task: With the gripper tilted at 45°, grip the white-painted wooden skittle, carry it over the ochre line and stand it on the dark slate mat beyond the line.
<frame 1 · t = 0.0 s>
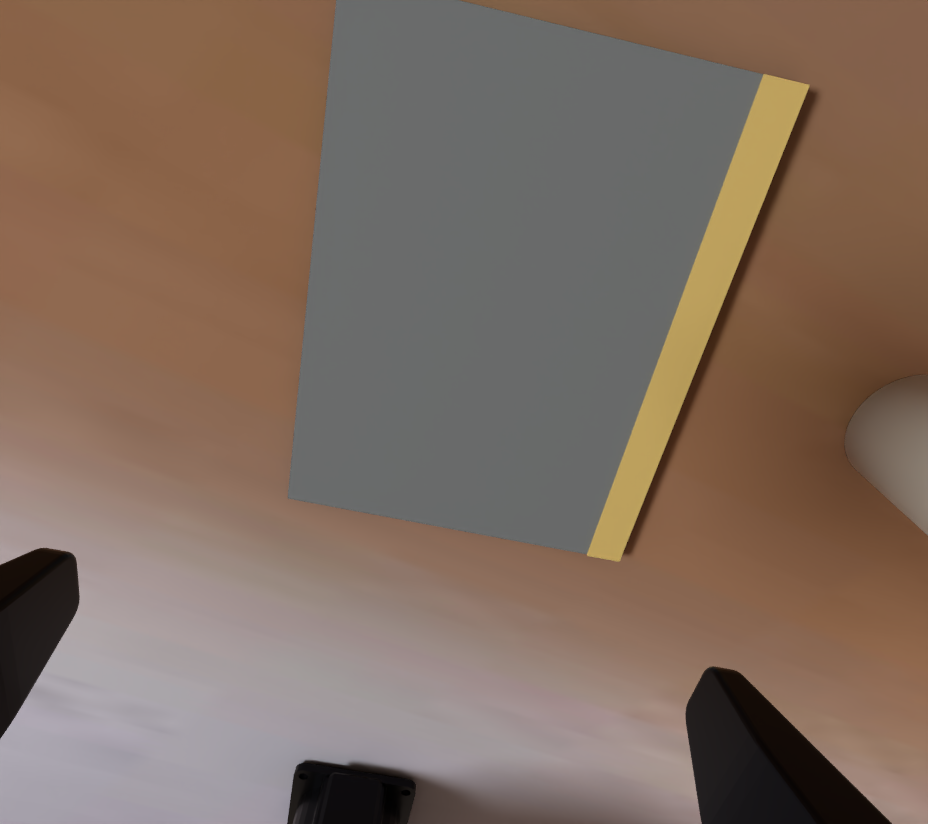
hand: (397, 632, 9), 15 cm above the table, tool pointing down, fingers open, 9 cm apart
skittle: (907, 430, 23), on the table
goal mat: (506, 320, 22), on the table
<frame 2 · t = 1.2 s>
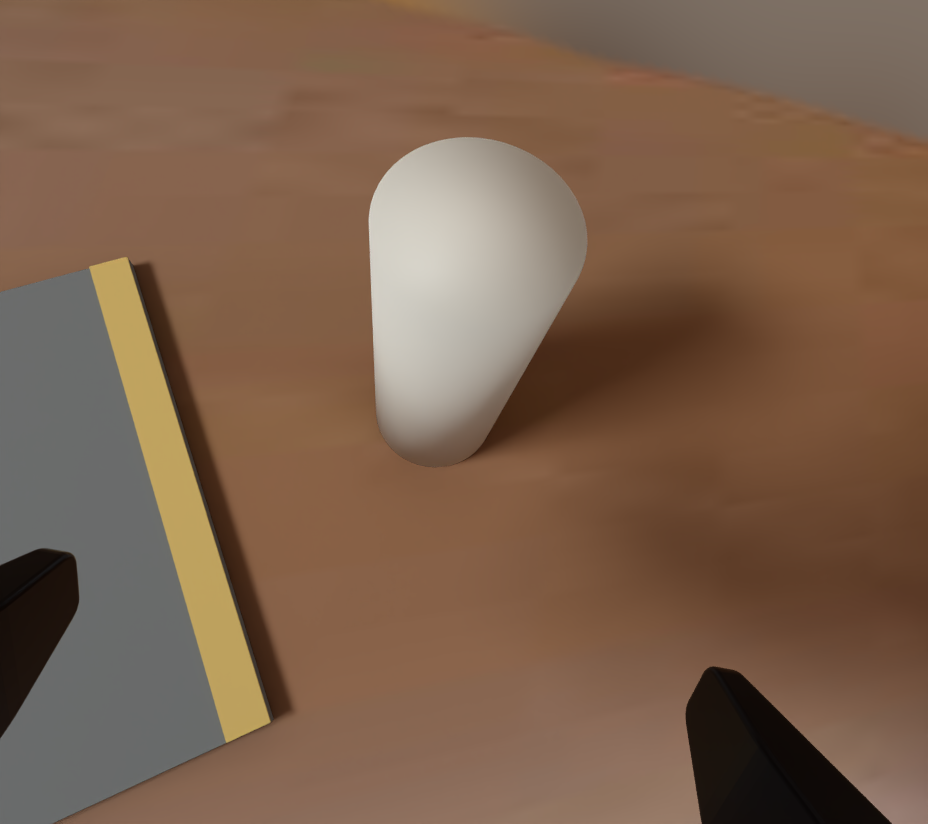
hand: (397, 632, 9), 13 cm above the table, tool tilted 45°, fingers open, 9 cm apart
skittle: (434, 410, 24), on the table
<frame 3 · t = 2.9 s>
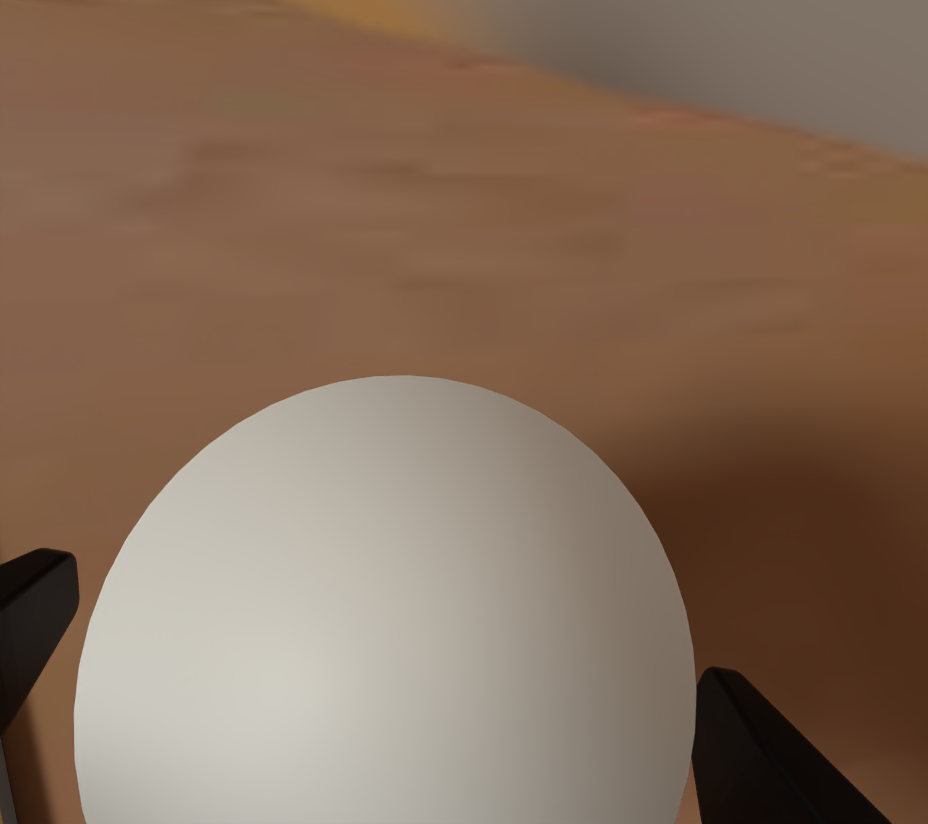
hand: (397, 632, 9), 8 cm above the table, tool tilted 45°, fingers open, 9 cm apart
skittle: (389, 634, 16), on the table
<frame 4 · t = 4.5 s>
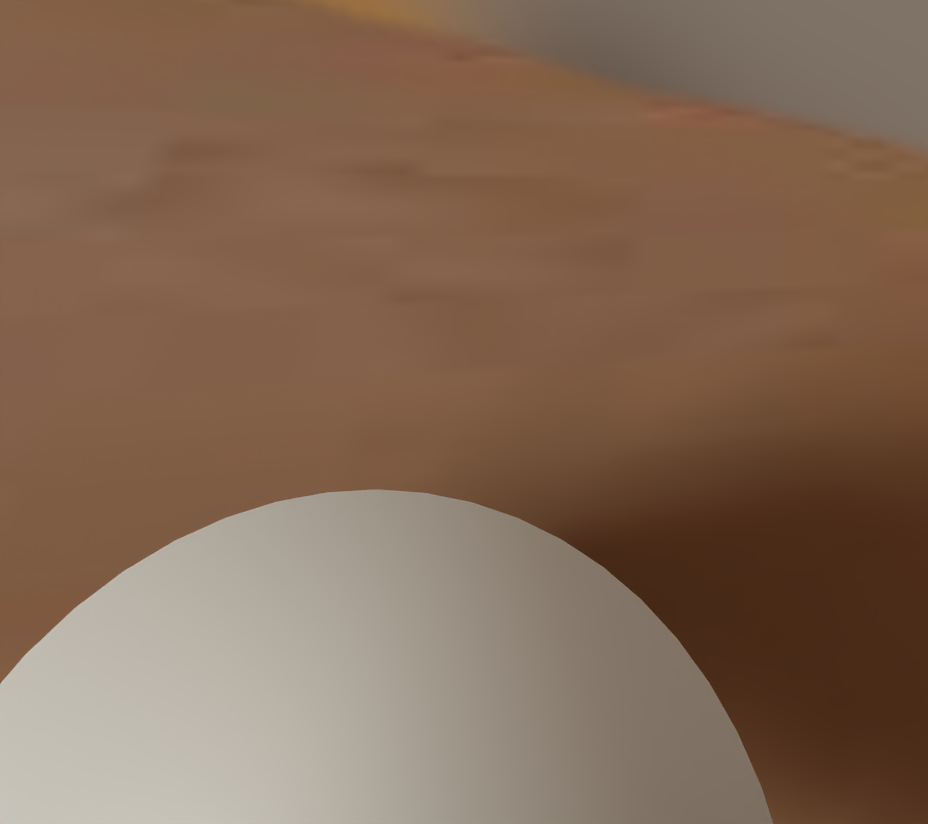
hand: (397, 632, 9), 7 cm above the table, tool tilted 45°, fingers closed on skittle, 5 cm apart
skittle: (379, 688, 14), on the table, touching gripper
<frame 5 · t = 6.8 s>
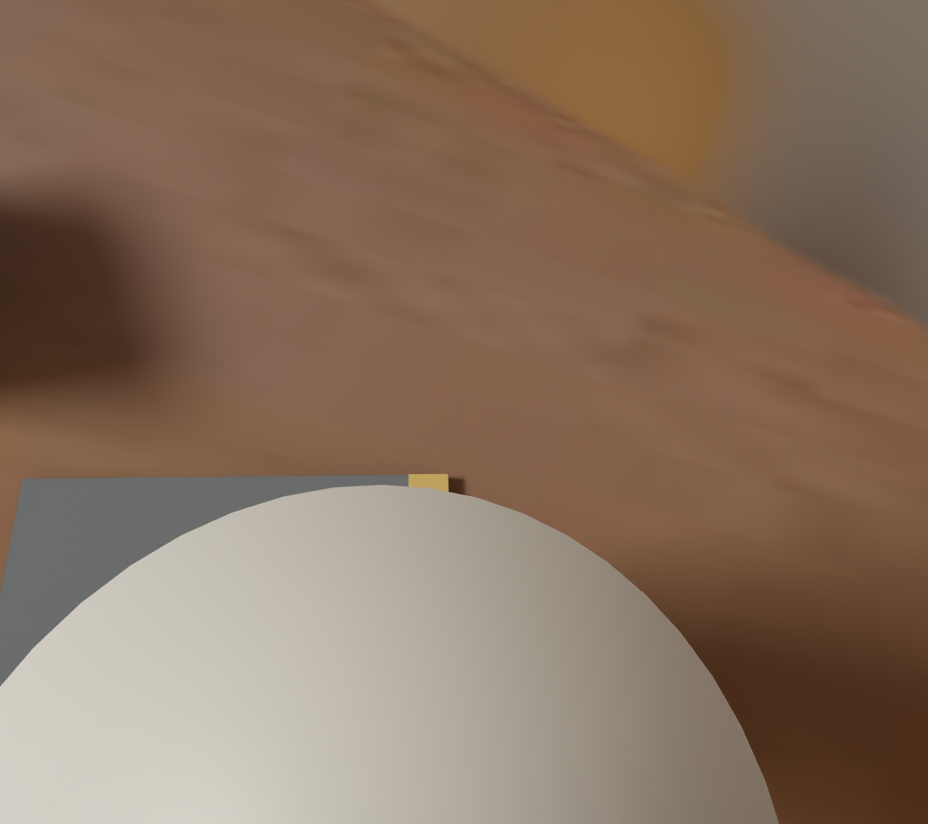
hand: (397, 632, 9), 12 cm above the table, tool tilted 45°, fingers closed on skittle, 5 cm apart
skittle: (380, 687, 14), point 6 cm above the table, touching gripper
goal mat: (225, 771, 18), on the table
when the fingers open (8 cm above the table, at t = 9.0 s): skittle stays where it is, resting on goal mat.
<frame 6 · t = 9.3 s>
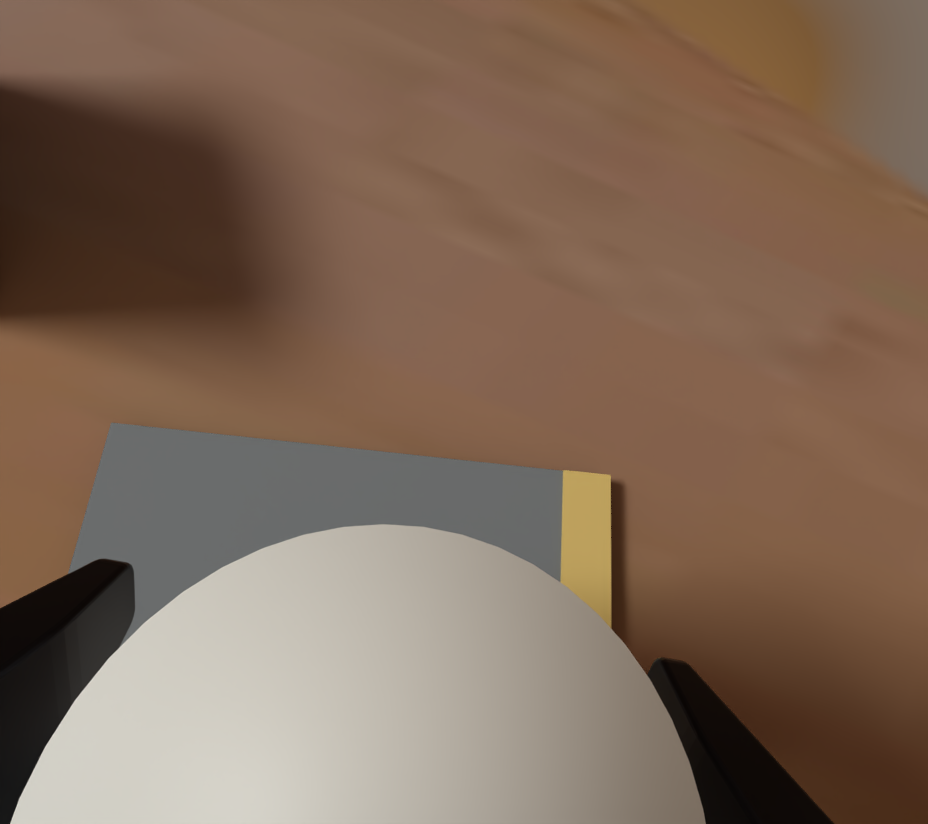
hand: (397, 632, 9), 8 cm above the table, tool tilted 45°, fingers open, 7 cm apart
skittle: (379, 685, 15), point 1 cm above the table, touching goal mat
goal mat: (322, 815, 15), on the table
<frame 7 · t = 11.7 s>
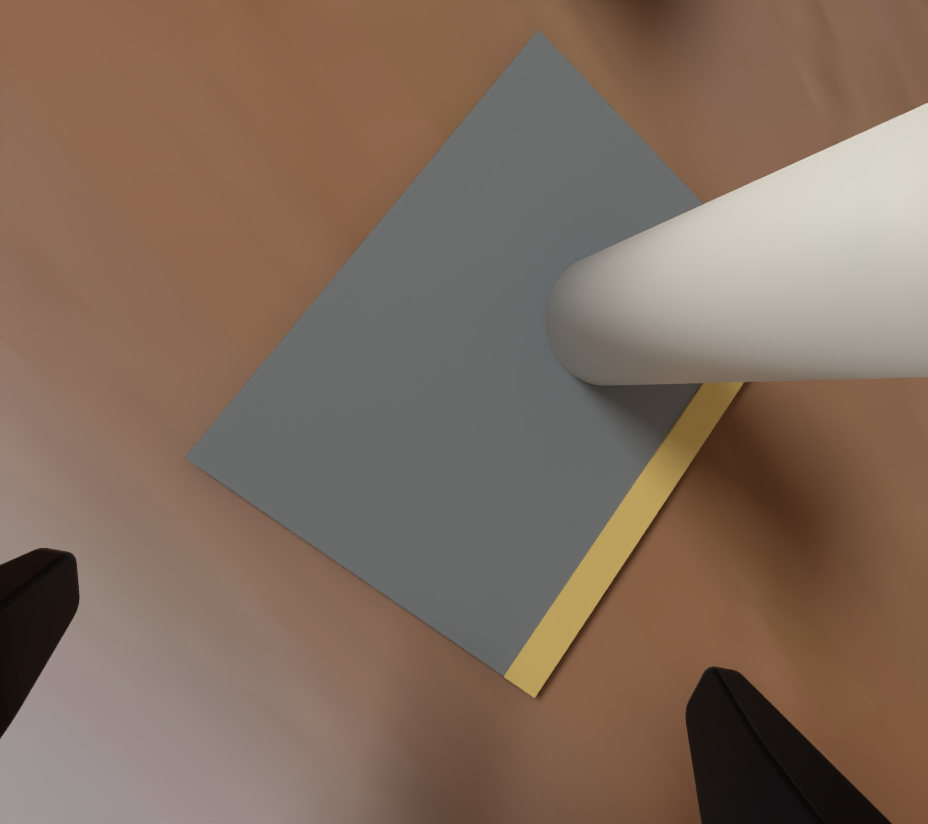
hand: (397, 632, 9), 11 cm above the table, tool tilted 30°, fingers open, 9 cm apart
skittle: (604, 320, 21), point 1 cm above the table, touching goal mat
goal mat: (530, 368, 21), on the table
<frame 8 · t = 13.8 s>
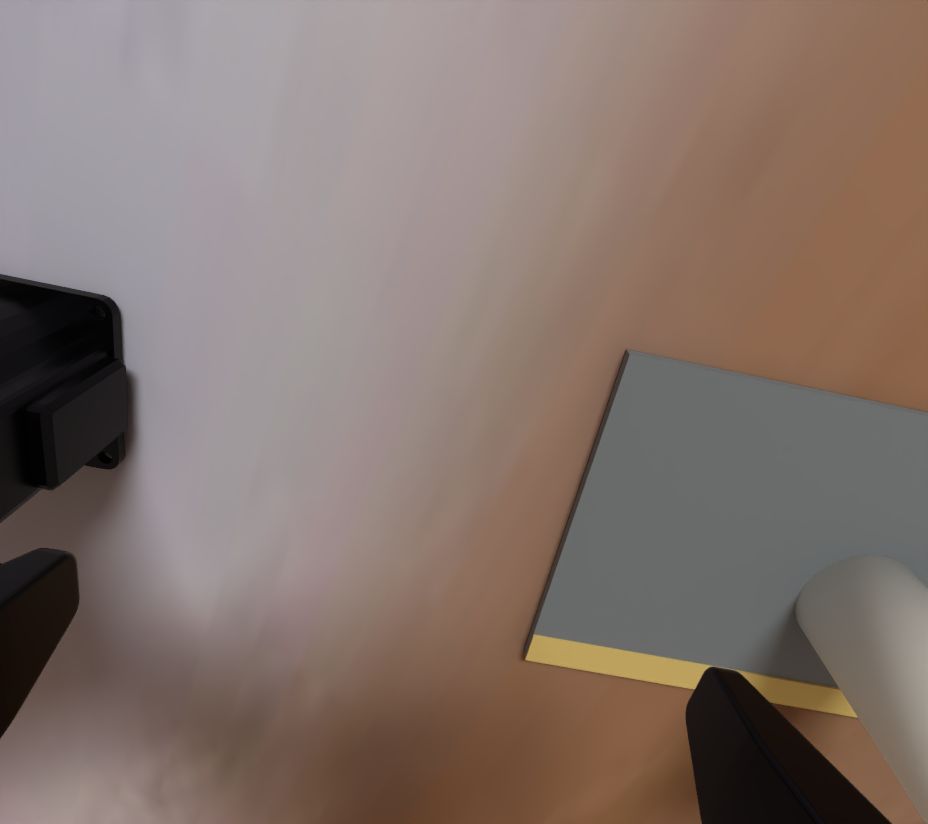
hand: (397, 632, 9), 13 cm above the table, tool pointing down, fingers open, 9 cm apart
skittle: (855, 601, 24), point 1 cm above the table, touching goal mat
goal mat: (790, 560, 24), on the table
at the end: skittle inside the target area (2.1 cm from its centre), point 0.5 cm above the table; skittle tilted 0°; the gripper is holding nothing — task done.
